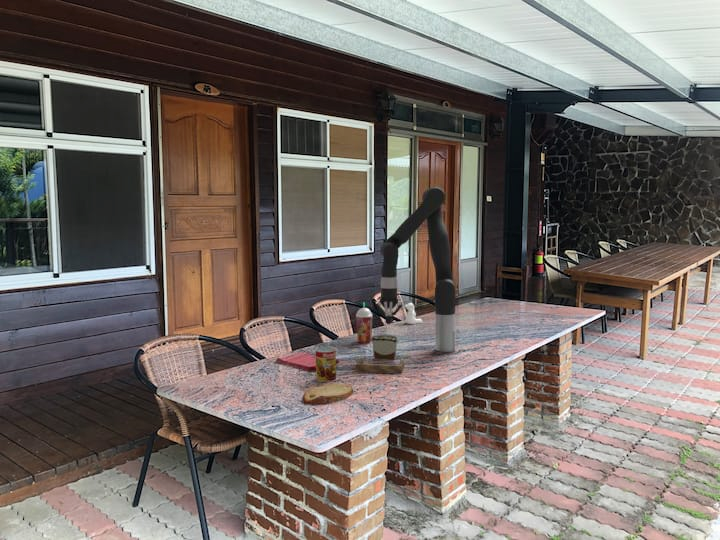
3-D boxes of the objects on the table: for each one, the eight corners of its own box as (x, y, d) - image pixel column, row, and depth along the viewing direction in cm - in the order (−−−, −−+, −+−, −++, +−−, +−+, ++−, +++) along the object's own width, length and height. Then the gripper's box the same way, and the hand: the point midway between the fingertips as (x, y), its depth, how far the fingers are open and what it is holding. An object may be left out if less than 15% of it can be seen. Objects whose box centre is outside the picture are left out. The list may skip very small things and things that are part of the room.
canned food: (328, 383, 232) (328, 352, 230) (312, 380, 236) (311, 350, 235) (340, 377, 239) (339, 348, 237) (323, 375, 243) (323, 346, 241)
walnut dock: (404, 367, 252) (404, 360, 252) (401, 373, 243) (401, 366, 243) (359, 365, 256) (359, 358, 256) (355, 371, 247) (355, 364, 246)
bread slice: (353, 388, 226) (353, 379, 226) (353, 405, 208) (352, 394, 208) (305, 389, 226) (305, 379, 225) (301, 405, 208) (301, 395, 208)
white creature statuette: (422, 322, 341) (422, 301, 340) (415, 325, 334) (415, 304, 333) (408, 321, 346) (408, 300, 345) (400, 323, 339) (400, 302, 338)
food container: (401, 357, 268) (401, 335, 267) (397, 361, 262) (397, 338, 261) (375, 355, 272) (375, 333, 271) (371, 359, 266) (370, 336, 265)
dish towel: (311, 373, 247) (311, 367, 247) (274, 363, 263) (274, 357, 263) (340, 364, 260) (340, 358, 259) (303, 355, 276) (303, 350, 275)
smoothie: (375, 341, 299) (375, 301, 297) (368, 344, 291) (368, 304, 289) (360, 339, 302) (359, 300, 300) (353, 343, 295) (352, 303, 293)
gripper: (404, 285, 275) (404, 322, 278) (376, 285, 278) (376, 321, 280) (402, 288, 268) (402, 326, 270) (373, 287, 271) (373, 325, 273)
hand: (388, 323), depth 275 cm, fingers closed
